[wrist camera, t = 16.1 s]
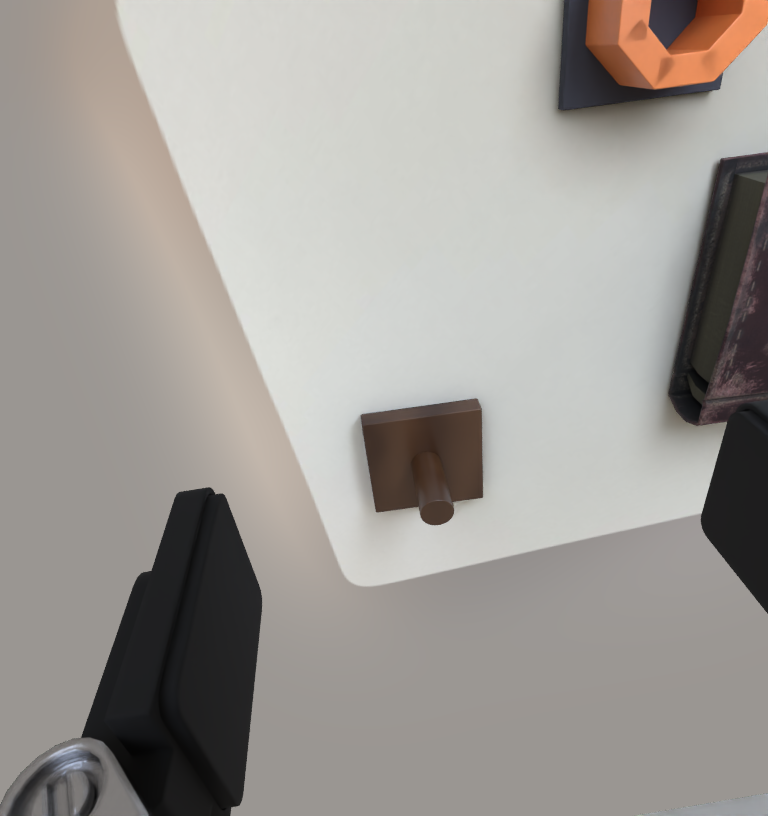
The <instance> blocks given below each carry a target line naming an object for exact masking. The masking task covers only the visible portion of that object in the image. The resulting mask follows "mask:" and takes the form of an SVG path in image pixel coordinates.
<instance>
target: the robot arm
mask: <svg viewBox="0 0 768 816" xmlns="http://www.w3.org/2000/svg"><path fill="white" fill-rule="evenodd" d="M701 525H702V529H703V531H704V533H705V535H706V536H707V538H708V539H709V540H710V542H711V543H712V544H713V545H714V547H715V548H716V549H717V550H718V552H719V553H720V554H721V555H722V557H723V558H724V559H725V561H726V562H727V563H728V564H729V566H730V567H731V568H732V569H733V570H734V572H735V573H736V574H737V576H738V577H739V578H740V579H741V581H742V582H743V583H744V584H745V585H746V587H747V588H748V589H749V590H750V592H751V593H752V594H753V596H754V597H755V598H756V600H757V601H758V602H759V603H760V605H761V606H762V607H763V608H764V610H765V611H766V612H767V613H768V400H762V401H755V402H749V403H744V404H741V405H740V406H739V407H738V408H737V410H736V412H735V413H733V414H731V415H730V417H729V419H728V422H727V425H726V429H725V433H724V436H723V440H722V443H721V447H720V450H719V454H718V458H717V461H716V465H715V468H714V472H713V476H712V479H711V483H710V486H709V490H708V493H707V497H706V501H705V504H704V508H703V511H702V515H701ZM261 612H262V595H261V590H260V587H259V584H258V581H257V579H256V576H255V573H254V571H253V568H252V565H251V563H250V560H249V558H248V555H247V552H246V550H245V547H244V545H243V542H242V539H241V536H240V534H239V531H238V528H237V526H236V523H235V520H234V518H233V515H232V513H231V510H230V508H229V504H228V502H227V499H226V497H225V495H224V494H216V495H215V493H214V491H213V489H211V488H202V489H196V490H189V491H183V492H179V493H178V494H177V495H176V497H175V499H174V503H173V505H172V508H171V512H170V515H169V518H168V521H167V524H166V528H165V530H164V534H163V537H162V540H161V543H160V546H159V549H158V553H157V555H156V559H155V562H154V565H153V568H152V571H149V572H143V573H141V574H140V575H139V576H138V578H137V580H136V581H135V584H134V586H133V588H132V592H131V594H130V597H129V600H128V603H127V606H126V609H125V612H124V615H123V618H122V620H121V624H120V626H119V629H118V632H117V635H116V638H115V641H114V644H113V647H112V650H111V652H110V655H109V658H108V661H107V664H106V667H105V670H104V673H103V676H102V679H101V682H100V684H99V687H98V690H97V693H96V696H95V699H94V702H93V705H92V708H91V711H90V714H89V716H88V719H87V722H86V725H85V728H84V731H83V734H82V737H81V738H76V739H71V740H68V741H66V742H63V743H60V744H58V745H55V746H54V747H52V748H51V749H49V750H48V751H46V752H45V753H43V754H41V755H40V756H38V757H37V758H36V759H35V760H34V761H33V762H32V763H31V764H30V765H29V766H27V767H26V768H25V769H24V770H23V771H22V772H21V773H20V775H19V776H18V777H17V778H16V780H15V781H14V782H13V784H12V785H11V786H10V788H9V789H8V790H7V792H6V794H5V796H4V798H3V800H2V802H1V804H0V816H230V813H231V807H235V806H239V805H240V803H241V801H242V797H243V791H244V781H245V771H246V761H247V751H248V742H249V732H250V722H251V712H252V702H253V692H254V682H255V672H256V662H257V651H258V643H259V633H260V623H261ZM636 816H768V793H766V794H760V795H754V796H748V797H742V798H736V799H731V800H724V801H719V802H713V803H707V804H701V805H695V806H689V807H683V808H677V809H671V810H665V811H660V812H654V813H648V814H642V815H636Z"/></svg>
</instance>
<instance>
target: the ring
mask: <svg viewBox="0 0 768 816" xmlns="http://www.w3.org/2000/svg"><path fill="white" fill-rule="evenodd" d="M650 8H651V0H589V3H588V16H587V30H586V43H585V45H586V46H587V48H588V49H589V50H590V51H591V52H592V54H593V55H594V56H595V57H596V58H597V59H598V61H599V62H600V63H601V64H602V65H603V66H604V68H605V69H606V70H607V71H608V72H609V74H610V75H611V76H612V77H613V78H614V79H615V81H616V82H617V83H618V84H619V85H623V86H630V87H638V88H646V89H654V90H656V89H664V88H671V87H678V86H686V85H693V84H700V83H708V82H713V81H715V80H716V79H717V78H718V77H719V75H720V74H721V73H722V72H723V71H724V70H725V69H726V68H727V67H728V66H729V65H730V64H731V63H732V62H733V60H734V59H735V58H736V57H737V56H738V55H739V54H740V53H741V52H742V51H743V50H744V49H745V48H746V47H747V46H748V44H749V43H750V42H751V41H752V40H753V39H754V38H755V37H756V36H757V35H758V34H759V33H760V32H761V31H762V29H763V28H764V27H765V26H766V25H767V22H768V0H698V3H697V9H696V15H695V18H694V19H693V20H692V21H691V22H690V24H689V25H688V26H687V27H686V28H685V29H684V30H683V32H682V33H681V34H680V35H679V36H678V37H677V38H676V40H675V41H674V42H673V43H672V44H671V45H670V46H669V47H668V49H667V50H666V49H665V47H664V46H663V45H662V43H661V42H660V41H659V39H658V38H657V37H656V36H655V34H654V33H653V32H652V30H651V29H650V28H649V27H648V24H649V16H650Z"/></svg>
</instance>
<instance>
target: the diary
mask: <svg viewBox="0 0 768 816" xmlns="http://www.w3.org/2000/svg"><path fill="white" fill-rule="evenodd" d="M669 397H670V399H671V402H672V404H673V406H674V408H675V410H676V412H677V413H678V414H679V415H680V416H681V417H682V418H683V419H684V420H685V421H686V422H688V423H691V424H693V425H696V426H699V425H706V424H713V423H720V422H727V421H728V419H729V417H730V415H731V414H733V413H735V412H736V410H737V408H738V407H739V406H740V405H741V404H744V403H749V402H755V401H762V400H768V152H767V153H760V154H752V155H745V156H737V157H729V158H721V161H720V165H719V170H718V174H717V179H716V183H715V188H714V192H713V197H712V201H711V205H710V210H709V214H708V219H707V223H706V228H705V232H704V237H703V241H702V246H701V250H700V255H699V259H698V264H697V268H696V272H695V277H694V281H693V286H692V290H691V295H690V299H689V304H688V308H687V313H686V317H685V322H684V326H683V331H682V335H681V340H680V344H679V348H678V353H677V357H676V362H675V366H674V373H673V375H672V380H671V384H670V389H669Z"/></svg>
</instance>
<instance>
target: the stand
mask: <svg viewBox="0 0 768 816" xmlns="http://www.w3.org/2000/svg"><path fill="white" fill-rule="evenodd" d="M361 422H362V430H363V436H364V442H365V448H366V454H367V460H368V466H369V473H370V479H371V485H372V491H373V497H374V503H375V509H376V512H384V511H391V510H398V509H405V508H413V507H419V510H420V515H421V518H422V520H423V521H424V522H425V523H427V524H430V525H441V524H444V523H446V522H448V521H449V520H450V519H451V518H452V516H453V514H454V507H453V503H452V502H455V501H462V500H470V499H477V498H483V465H482V409H481V406H480V404H479V402H478V399H470V400H463V401H456V402H448V403H441V404H434V405H427V406H420V407H412V408H405V409H398V410H391V411H384V412H376V413H369V414H362V415H361Z"/></svg>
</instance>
